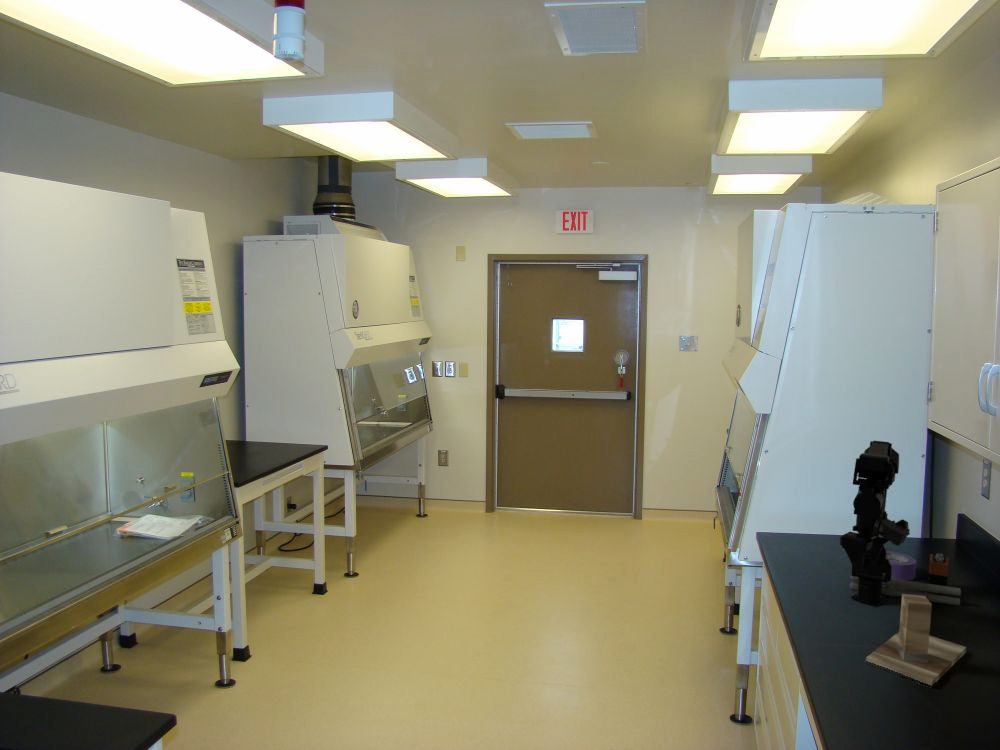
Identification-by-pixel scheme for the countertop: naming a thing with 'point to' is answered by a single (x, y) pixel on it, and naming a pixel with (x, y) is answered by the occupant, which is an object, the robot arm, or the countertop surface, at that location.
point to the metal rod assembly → (894, 583)
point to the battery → (938, 570)
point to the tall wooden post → (914, 628)
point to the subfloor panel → (929, 673)
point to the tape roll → (901, 566)
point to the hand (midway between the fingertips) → (865, 569)
